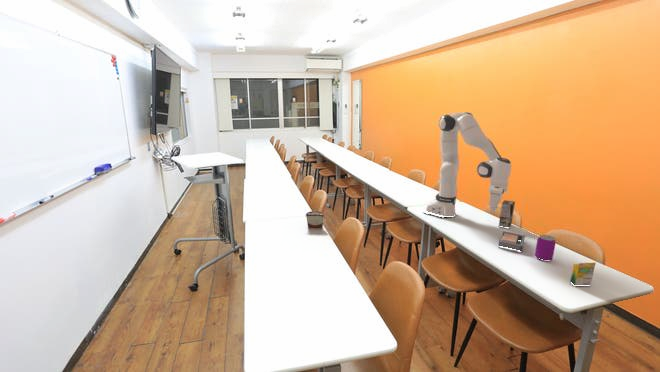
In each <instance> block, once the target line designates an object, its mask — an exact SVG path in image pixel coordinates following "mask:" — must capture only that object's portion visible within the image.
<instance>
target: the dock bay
mask: <svg viewBox="0 0 660 372" xmlns="http://www.w3.org/2000/svg"><path fill="white" fill-rule="evenodd" d="M504 233H507V234H512V235H517V236H518V240H521V242H520V244H514V243H509V242H505V241H501V240H498V245H499V246H503V247H508V248H512V249H516V250H520V251H522V252H523V249H524V244H525V239H526V235H525V234H519V233H513V232H509V231H502V234H501V235H502V236H504Z"/></svg>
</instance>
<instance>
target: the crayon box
mask: <svg viewBox="0 0 660 372" xmlns="http://www.w3.org/2000/svg"><path fill="white" fill-rule="evenodd" d="M595 267H596V262H580V263H574V264H573V267H572V271H571V277H570V281H569V283H570V282H572V283H573V284H574V285H591V286H592V281H593V276H594V271H595Z"/></svg>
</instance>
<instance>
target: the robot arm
mask: <svg viewBox="0 0 660 372" xmlns="http://www.w3.org/2000/svg"><path fill="white" fill-rule="evenodd" d="M438 127H439V129H440V138H439V139H440V141H439V142H440V155H441V166H440V168H439V190H438V193H437V194H436V195H435V197H434V198H435V199H433V200H431V201H429V202H428V203H427V205H426V211H428V212H432V213H435V214H439V215H443V216H454V215H456V216H457V214H456V203H457V202H456V201H457V196H456V195H457V185H458V184H457V182H458V171H460V170H459V169H460V159H459V136H458V134H459V133H460V135H461V136H462V137H461V138H462V139H463V141H464V143H466V144H467V145H468V146H470V147H473V148H477V149H480V150H481V151H483V152H484V154H485V155H486V157H487V158H488V160H485V161H481V162H479V164H478V165H477V168H476V171H477V175H478V176H479V177H480V178H483V179H490V182H489V188H488V189H489V191H488V193H489V199H488V200H489V201H488V206H489V208H490V213H491V214H495V211H496V209H497V208H498V205H499V203H500V202H501V200H502V198H503V195H504V194H505V193H507V190H508V186H509V178H510V176H511V171H512V162H511V160H509V159H507V157H506V158H505V157H502V155H500V153H499V152H498V150H497V148H496V147H495V145H494V143H493V142H492V141H491V140H490V138H488V136H486V134H485V133H484V131H483V130H482V128H481V126H480V124H479V123H478V120H477V119H476V118H475V117H474V115H473V114H472V113H471V112H468V111H465V112H454V113H450V114H445V115H442V116H440V119H439V120H438Z"/></svg>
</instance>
